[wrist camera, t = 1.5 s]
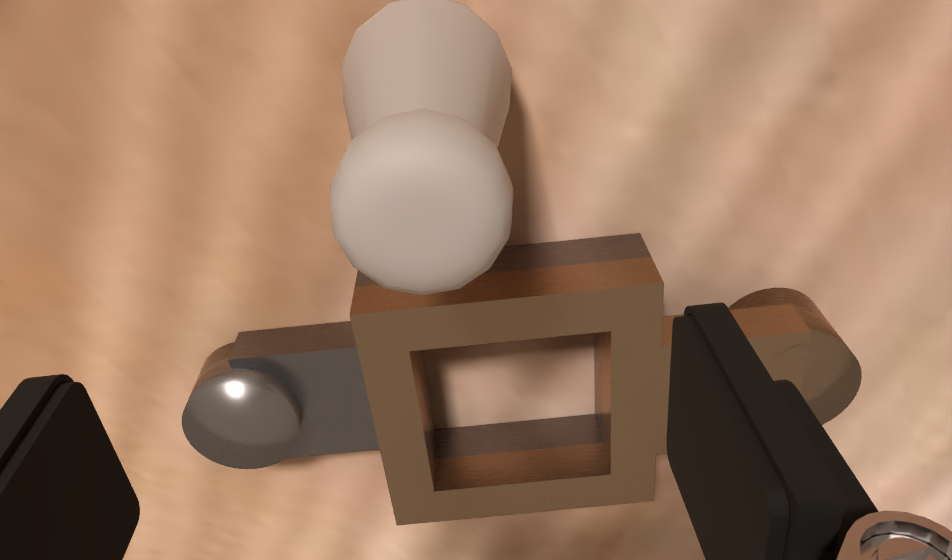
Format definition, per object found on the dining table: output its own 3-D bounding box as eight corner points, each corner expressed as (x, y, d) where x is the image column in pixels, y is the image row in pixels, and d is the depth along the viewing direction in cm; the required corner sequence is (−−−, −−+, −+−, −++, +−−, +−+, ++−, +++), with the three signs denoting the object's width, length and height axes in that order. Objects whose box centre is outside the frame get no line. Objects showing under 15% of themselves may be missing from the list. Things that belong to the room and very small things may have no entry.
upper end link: (840, 213, 31) (889, 260, 28) (801, 423, 38) (837, 483, 34) (359, 261, 32) (349, 314, 28) (400, 462, 38) (396, 525, 35)
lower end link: (639, 233, 32) (657, 269, 29) (634, 439, 38) (648, 484, 35) (162, 281, 32) (138, 322, 29) (236, 478, 38) (222, 525, 36)
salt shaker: (415, 167, 30) (400, 375, 19) (316, 50, 27) (230, 212, 16) (537, 79, 28) (599, 250, 17) (443, -54, 25) (444, 45, 14)
